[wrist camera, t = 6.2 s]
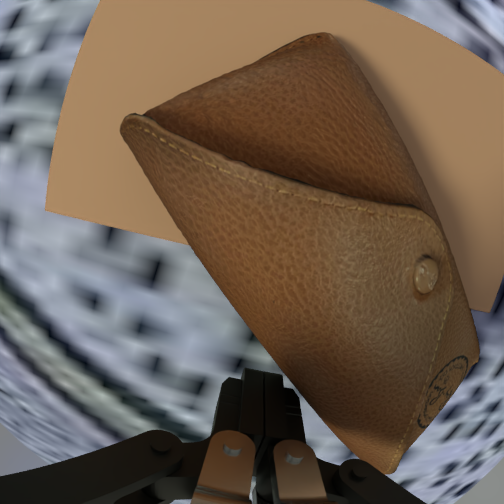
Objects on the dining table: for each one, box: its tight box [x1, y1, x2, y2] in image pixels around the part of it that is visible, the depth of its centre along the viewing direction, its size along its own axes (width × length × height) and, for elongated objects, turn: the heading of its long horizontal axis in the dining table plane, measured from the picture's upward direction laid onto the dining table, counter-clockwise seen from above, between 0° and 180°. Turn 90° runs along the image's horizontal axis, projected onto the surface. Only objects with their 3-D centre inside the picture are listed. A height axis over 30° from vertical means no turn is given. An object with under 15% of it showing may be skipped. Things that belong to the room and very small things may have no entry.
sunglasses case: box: [120, 32, 480, 475], centre depth 10 cm, size 18×7×7 cm
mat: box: [45, 0, 504, 313], centre depth 10 cm, size 12×22×1 cm, turn 77°
